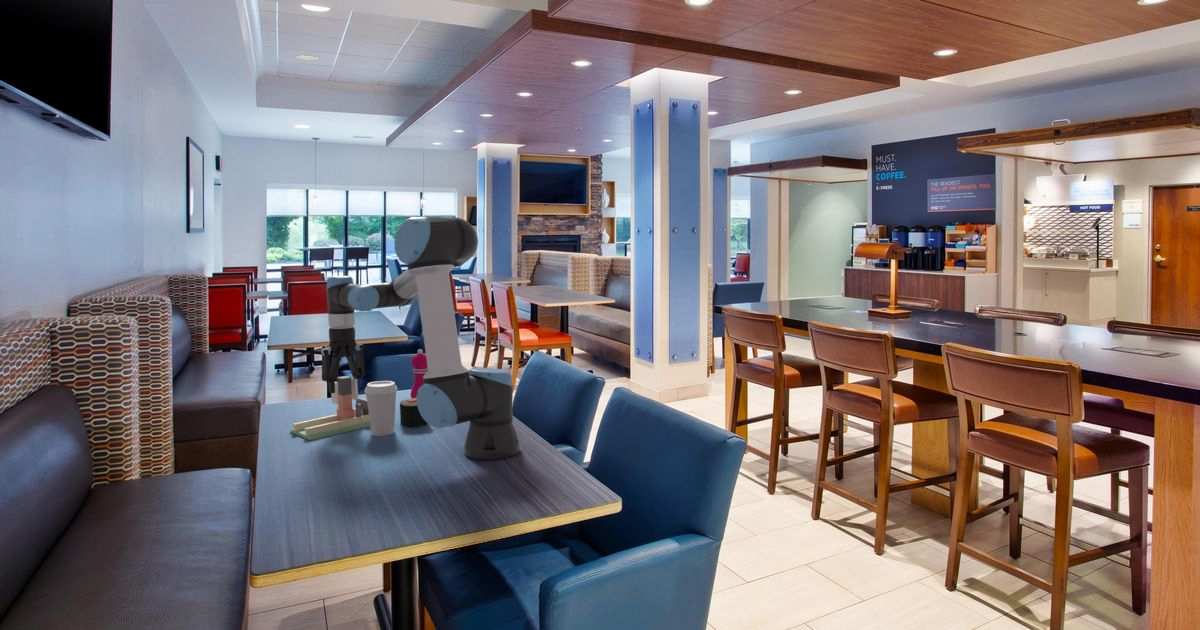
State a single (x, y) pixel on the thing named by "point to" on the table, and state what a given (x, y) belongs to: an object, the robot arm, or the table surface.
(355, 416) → the ball
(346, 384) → the black and red block
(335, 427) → the pitch
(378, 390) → the coffee cup
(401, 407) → the sushi
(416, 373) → the pepper mill
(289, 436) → the table surface
